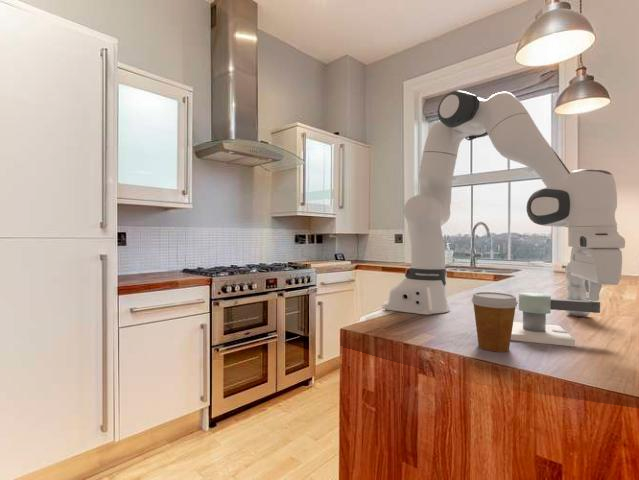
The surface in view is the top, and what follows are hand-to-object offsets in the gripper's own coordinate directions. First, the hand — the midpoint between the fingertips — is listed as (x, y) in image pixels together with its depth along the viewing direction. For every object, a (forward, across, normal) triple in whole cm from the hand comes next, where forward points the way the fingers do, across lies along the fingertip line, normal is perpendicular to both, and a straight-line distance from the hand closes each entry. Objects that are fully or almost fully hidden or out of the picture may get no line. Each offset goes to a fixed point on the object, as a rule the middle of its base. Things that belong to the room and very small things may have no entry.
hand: (592, 299), depth 80 cm
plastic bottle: (+11, -36, +7) cm, 38 cm away
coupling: (+4, -6, -5) cm, 9 cm away
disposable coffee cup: (+11, +9, -21) cm, 25 cm away
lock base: (+11, -6, -10) cm, 16 cm away
